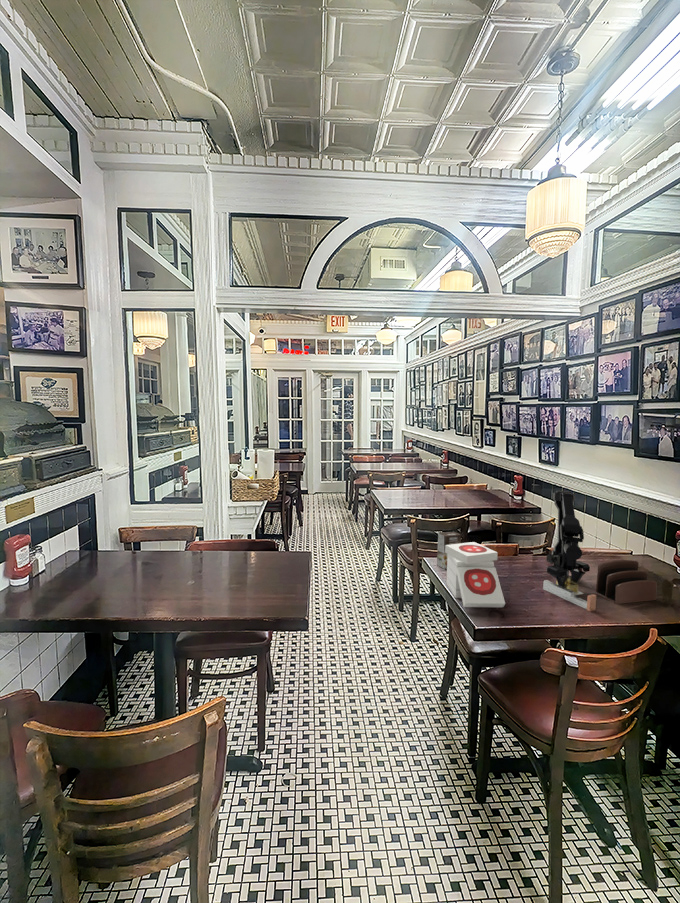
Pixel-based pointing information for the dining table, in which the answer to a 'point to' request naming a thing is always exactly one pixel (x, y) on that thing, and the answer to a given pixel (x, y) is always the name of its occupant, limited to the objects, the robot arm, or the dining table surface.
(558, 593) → the flange rail
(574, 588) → the clip saddle
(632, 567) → the letter holder
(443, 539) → the coffee box
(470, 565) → the pizza boxes
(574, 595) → the pad
